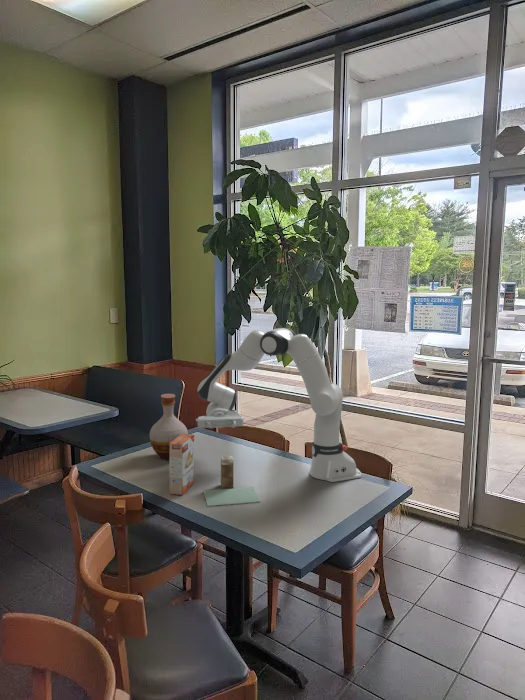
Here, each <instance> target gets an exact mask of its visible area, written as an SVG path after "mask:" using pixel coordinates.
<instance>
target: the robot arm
mask: <svg viewBox="0 0 525 700" xmlns="http://www.w3.org/2000/svg"><path fill="white" fill-rule="evenodd" d="M285 354H288V355H290V357H291V358H292V360H293V363H294V365H295V367H296V368H297V370H298V372H299V374H300V376H301V378H302V380H303V383H304V386H305V390H306V392H307V395H308V398H309V400H310V406H311V409H312V411H313V412H314V413H315V418H314V423H313V441H312V446H311V453H312V458H311V465H310V468H309V472H308V474H309V476H311V477H312V478H314V479H318V480H322V481H327V482H331V483H335V482H342V481H347V480H353V479H359V478H362V472H361V471H360V470H359V468H357V465H356V461H355V460H354V458H352V457H351V456H350V455H349V454H348V453H347V452H345V451H347V450H348V446H347V445H345V444H343V443H342V442H340V431H341V430H340V427H341V419H342V409H343V398H344V394H343V393H344V392H343V390H342V388H341V387H340V386H339V385H338V384H336V383H331V380H330V377H329V374H328V369H327V367H326V365H325V363H324V361H323V359H322V357H321V355H320V353H319V351H318V349H317V347H316V346H315V344H314V342H313V341H312V340H311V338H309V336H308V335H307V334H305V333H299V334H298V333H297V334H296V333H295V331H294V330H292V329H291V328H289V327H284V326H282V327H278V328H273V329H271V330H270V331H269V330H268V331H267V332H263V331H262V330H258V329H257V330H252V331H251V332H250V333H249V334H248V335H247V336H246V337H245V339H243V341H242V343H241V345H240V346H239V347H238V349H237V350H236V351H234V352H232V353H227V354H225V356H223V358H221V360H219V362H218V363H217V364H216V366H215V367H214V368H213V369H212V370H211V371H210V372H209V373H208V375H207V376H206V377H204V378H203V379H202V380H201V382H200V383H199V385H198V386H197V390H196V391H197V395H198V397H199V398H200V400H203V401H208V402H210V403H209V404H208V405H207V408H206V412H205V413H206V415H202V416H198V417H197V418H195V422H196V423H197V428H200V429H205V428H206V429H207V428H209V429H214V428H216V429H222V428H226V427H230V428H236V427H242V426H244V417H243V415H242V414H240V413H239V412H238V410H235V409H234V407H235V405H236V403H237V399H238V397H237V393H236V391H235V389H234V388H231V387H229V386H227V385H224V384H223V383H220V382H217V381H218V380H219V379H220V378H221V376H222V375H223V373H226V372H228V371H241V372H246V371H247V372H248V371H251V370H253V369H255V368H256V367H257V366H258V365H259V363H260V362H261V360H262V358H263V356H264V355H266V356H271V357H272V356H275V357H276V356H282V355H285Z"/></svg>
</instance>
